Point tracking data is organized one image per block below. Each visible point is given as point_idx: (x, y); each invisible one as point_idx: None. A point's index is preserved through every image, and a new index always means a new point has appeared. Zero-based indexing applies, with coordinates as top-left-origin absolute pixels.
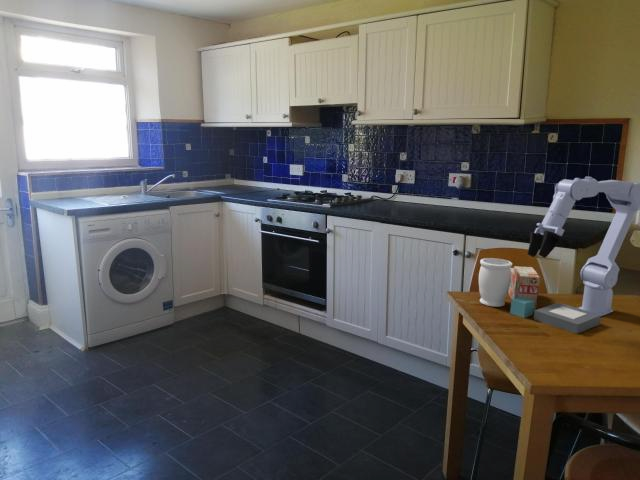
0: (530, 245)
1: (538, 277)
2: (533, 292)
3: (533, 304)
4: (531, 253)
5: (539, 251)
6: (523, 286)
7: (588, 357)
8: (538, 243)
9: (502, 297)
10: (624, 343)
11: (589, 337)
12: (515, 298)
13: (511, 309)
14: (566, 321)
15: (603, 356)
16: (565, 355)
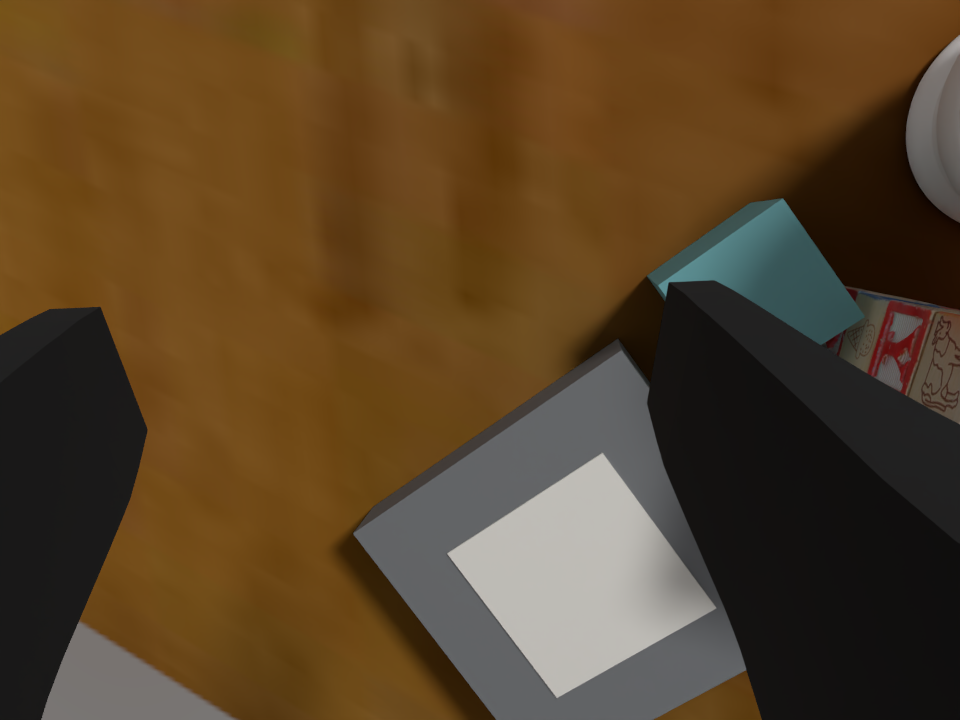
0: (788, 384)
1: None
2: None
3: None
4: (674, 363)
5: (43, 337)
6: (913, 354)
7: None
8: (809, 673)
9: (944, 169)
10: (266, 693)
11: (328, 553)
12: (801, 244)
13: (750, 207)
14: (416, 490)
15: None
16: (63, 291)
